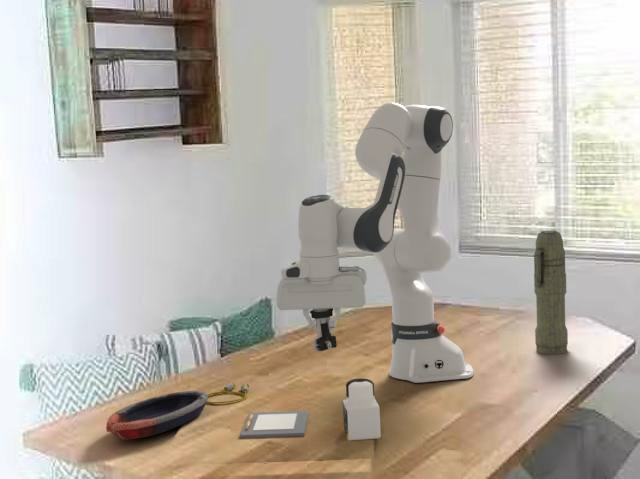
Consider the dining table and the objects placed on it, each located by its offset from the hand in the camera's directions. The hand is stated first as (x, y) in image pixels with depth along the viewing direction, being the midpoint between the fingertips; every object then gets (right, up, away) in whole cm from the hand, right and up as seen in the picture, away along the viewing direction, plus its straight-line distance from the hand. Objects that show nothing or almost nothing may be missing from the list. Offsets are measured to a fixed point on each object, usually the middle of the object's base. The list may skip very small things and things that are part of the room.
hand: (322, 327), depth 203 cm
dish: (-38, -23, +5) cm, 45 cm away
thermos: (+66, -13, +53) cm, 86 cm away
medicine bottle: (+9, -22, -10) cm, 26 cm away
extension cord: (-24, -21, +25) cm, 41 cm away
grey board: (-11, -22, 0) cm, 25 cm away
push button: (0, -5, +1) cm, 5 cm away
